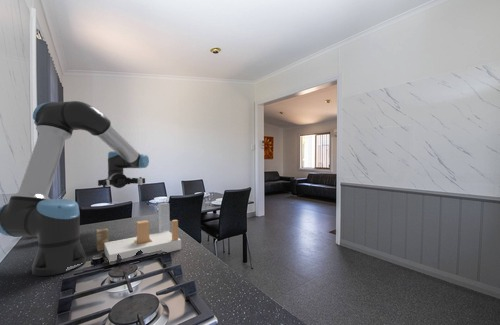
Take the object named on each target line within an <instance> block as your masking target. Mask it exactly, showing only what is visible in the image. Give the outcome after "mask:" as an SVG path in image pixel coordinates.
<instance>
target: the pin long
mask: <svg viewBox="0 0 500 325" xmlns="http://www.w3.org/2000/svg"><path fill="white" fill-rule="evenodd" d="M170 224H171V219H170V203H169V202H159V203H158V233H160V232H165V231H169V232H171V225H170Z"/></svg>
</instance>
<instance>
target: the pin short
mask: <svg viewBox="0 0 500 325" xmlns="http://www.w3.org/2000/svg"><path fill="white" fill-rule="evenodd" d="M95 232H96V235H95V236H96V250H97V252H100V251H104V243H106V242H110V241H109V228H107V227H105V228H100V229H99V228H97V229H96V231H95Z"/></svg>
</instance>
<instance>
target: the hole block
mask: <svg viewBox="0 0 500 325" xmlns="http://www.w3.org/2000/svg"><path fill="white" fill-rule="evenodd" d="M170 222H171V231H170V232H169V231H165V232H160V233H159V232H155V233H149V240H150V242H148V243H143V244H139V245H137V236H134V237H128V238H123V239H117V240H113V241H109V242H106V243H104V250H103V251H104V255H105V258H106V257H107V258H108V259H109V261H113V260H116V259H117V255H118V254H119V255H120V256H121V258H127V257H131V256H134V255H136V253H137V252H138V251H140V250H141V251H142V252H143V253H147V252H154V251H158V250H162V251H165V252H167V253H170V252H171V253H172V252H174V251H179V250H182V239H181V238H179V220H178V219H172V220H171V219H170ZM107 258H106V259H107Z"/></svg>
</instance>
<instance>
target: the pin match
mask: <svg viewBox="0 0 500 325" xmlns="http://www.w3.org/2000/svg"><path fill="white" fill-rule="evenodd" d="M135 226H136V237H137V245H139V244H143V243H148V242H150V240H149V234H150V222H149V221H148V220H139V221H136V224H135Z"/></svg>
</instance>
